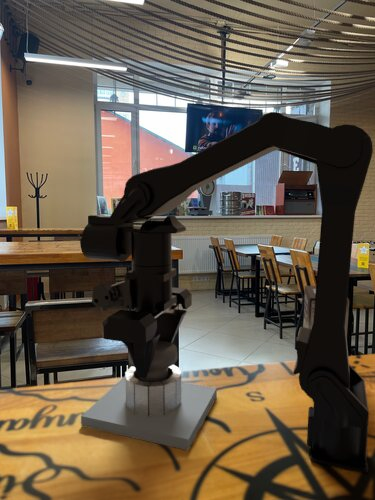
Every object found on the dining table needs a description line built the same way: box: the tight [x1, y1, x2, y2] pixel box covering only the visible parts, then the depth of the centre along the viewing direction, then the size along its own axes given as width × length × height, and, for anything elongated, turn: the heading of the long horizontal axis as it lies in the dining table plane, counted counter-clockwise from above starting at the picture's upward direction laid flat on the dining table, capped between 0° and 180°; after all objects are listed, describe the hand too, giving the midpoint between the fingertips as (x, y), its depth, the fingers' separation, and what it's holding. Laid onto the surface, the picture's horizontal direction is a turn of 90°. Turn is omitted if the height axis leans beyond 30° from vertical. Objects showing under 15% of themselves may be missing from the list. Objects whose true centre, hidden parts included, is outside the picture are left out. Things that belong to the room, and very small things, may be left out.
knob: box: [127, 340, 178, 383], centre depth 57 cm, size 7×7×5 cm
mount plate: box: [80, 376, 218, 451], centre depth 58 cm, size 16×14×2 cm
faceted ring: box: [124, 364, 182, 417], centre depth 58 cm, size 8×8×4 cm
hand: (153, 366), depth 57 cm, fingers closed on knob, 7 cm apart
